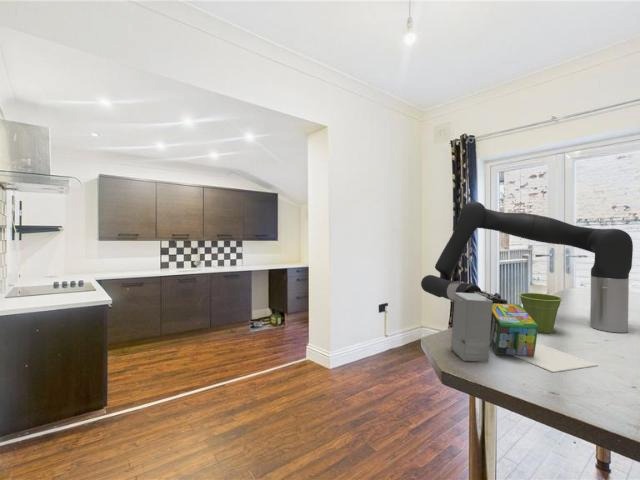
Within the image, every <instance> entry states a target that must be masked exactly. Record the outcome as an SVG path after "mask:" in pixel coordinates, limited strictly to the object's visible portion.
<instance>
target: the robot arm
mask: <svg viewBox="0 0 640 480" xmlns="http://www.w3.org/2000/svg"><path fill="white" fill-rule="evenodd" d="M477 229H484V230H490V231H497V232H500V233H504V234H506V235H510V236H514V237H517V238H521V239H525V240H529V241H534V242H538V243H545V244H550V245H561V246H562V245H563V246H569V247H574V248H577V249H580V250H583V251H587V252H590V253H593V254H594V261H593V262H594V263H593V265H592V267H591V268H590V308H589V309H590V313H589V314H590V315H589V316H590V317H589V318H590V319H589V320H590V322H589V323H590V326H589V327H591V328H592V329H596V330H599V331H603V332H604V331H605V332H609V333H622V334H623V333H624V334H625V333H628V332H629V291H630V290H629V286H630V285H629V284H630V279H629V277H630V272H631V271H632V267H633V254H634V253H633V252H634V245H633V239H632V237H631V236H630V234H629V233H628V232H627V231H624V230H622V229H618V228H595V227H594V228H593V227H587V226H578V225H574V224H570V223H568V222H565V221H562V220H559V219H556V218H552V217H549V216H545V215H544V216H543V215H539V214H535V213H533V214H532V213H525V212H504V211H503V212H502V211H501V212H500V211H496V210H492V209H489V208H486V207H485V205H484V204H482V203H481V202H479V201H469V202H467V203H466V204H464V205H463V206H462V207H461V208H460V211H459V217H458V220H457V222H456V225H455V228H454V231H453V233H452V235H451V236H450V238H449V239H448V241H447V243H446V245H445V247H444V248H443V250H442V252H441V254H440V255H439V257H438V259H437V261H436V263H435V265H434V268H435V270H436V271H437V272H439V276H437V275H432V274H429V275H425V276H424V277H423V278H422V279H421V282H420V286H421V289H422V290H423V291H424V292H425V293H428V294H430V295H433V296H434V297H437V298H444V299H445V300H450V301H452V302H454V299H455V293H475V294H479V295H481V296H484V297H486V298H487V299H489V300H491V301H493V302H492V303H494V304H508V300H507V299H503V298H502V296H501V295H500V294H499V293H497V292H495V293H493V294H492V293H489V292H487V291H485V290H481V288H480V287H479V286H478V285H477V284H473V283H467V282H463V281H456V280H455V281H454V280H452V277H453V274H454V272H455V270H456V268H457V265H458V264H459V262H460V260H461V258H462V256H463V254H464V251H465V248H466V246H467V244H468V243H469V241H470V238H471V237H472V236H473V234H474V232H475V231H476V230H477Z"/></svg>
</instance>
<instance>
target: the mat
mask: <svg viewBox="0 0 640 480" xmlns="http://www.w3.org/2000/svg"><path fill="white" fill-rule="evenodd" d="M512 356H513V357H515V358H517V359H520V360H522V361H525V362H527V363H529V364H531V365H534V366H535V367H538V368H541V369H543V370H546V371H548V372H550V373H551V374H552V373H554V374H555V373H561V372H567V371H575V370H581V369H588V368H594V367H595V368H596V367H599V365H598V364H597V363H593V362H591V361H588V360H586V359H582V358H580V357H577V356H575V355H572V354H569V353H566V352H563V351H561V350H558V349H555V348H552V347H549V346H547V345H544V344H542V343H538V342H536V347H535V353H534V357H532V356H521V355H512Z"/></svg>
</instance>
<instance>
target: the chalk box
mask: <svg viewBox="0 0 640 480" xmlns="http://www.w3.org/2000/svg"><path fill="white" fill-rule="evenodd" d="M537 331H538V325H537V324H536V323H535V322H534V320H533V319H532V318H531V317H530V316H529V314H528V313H527V312H526V311H525V310H524V309H523V305H521V304H513V303H512V304H511V303H507V304H494V303H492V316H491V329H490V345H491V346H492V348H493V350H494V352H495V354H498V355H510V356H513V355H521V356H532V357H534V353H535V347H536V343H537V338H538V332H537Z"/></svg>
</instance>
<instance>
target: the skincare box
mask: <svg viewBox="0 0 640 480" xmlns="http://www.w3.org/2000/svg"><path fill="white" fill-rule="evenodd" d="M492 302H493V301H491V300H489V299H487V298H486V297H484V296H481V295H479V294H475V293H455V299H454V301H453V316H452V330H451V342H450V349H451V351H453V352H454V353H455V354H456V355H457V357H459V358H460V359H461V360H462V361H464V362H482V363H483V362H484V363H485V362H489V358H490V357H489V356H490V355H489V354H490V345H491V342H490V329H491V316H492Z"/></svg>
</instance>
